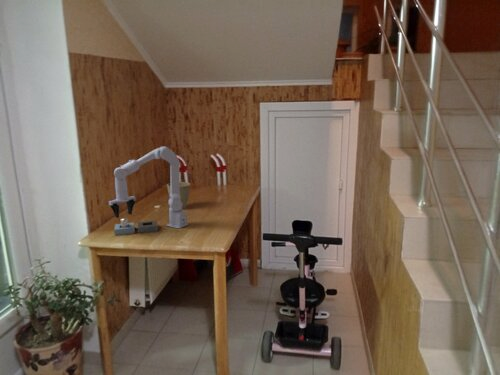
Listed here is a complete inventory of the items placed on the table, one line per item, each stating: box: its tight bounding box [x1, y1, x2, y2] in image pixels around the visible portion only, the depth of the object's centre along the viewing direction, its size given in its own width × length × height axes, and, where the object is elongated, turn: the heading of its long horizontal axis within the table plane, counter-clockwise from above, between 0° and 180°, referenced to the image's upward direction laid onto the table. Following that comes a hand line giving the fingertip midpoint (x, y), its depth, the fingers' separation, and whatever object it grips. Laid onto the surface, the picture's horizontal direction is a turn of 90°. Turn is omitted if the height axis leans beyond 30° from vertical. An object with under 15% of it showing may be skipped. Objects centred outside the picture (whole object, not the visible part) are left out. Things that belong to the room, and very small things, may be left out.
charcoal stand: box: [137, 220, 159, 234], centre depth 213 cm, size 10×10×3 cm
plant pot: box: [166, 181, 191, 210], centre depth 253 cm, size 15×15×16 cm
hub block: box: [113, 222, 136, 236], centre depth 209 cm, size 10×10×3 cm
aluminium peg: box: [119, 217, 129, 228], centre depth 209 cm, size 4×4×7 cm
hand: (123, 215), depth 208 cm, fingers open, 7 cm apart
